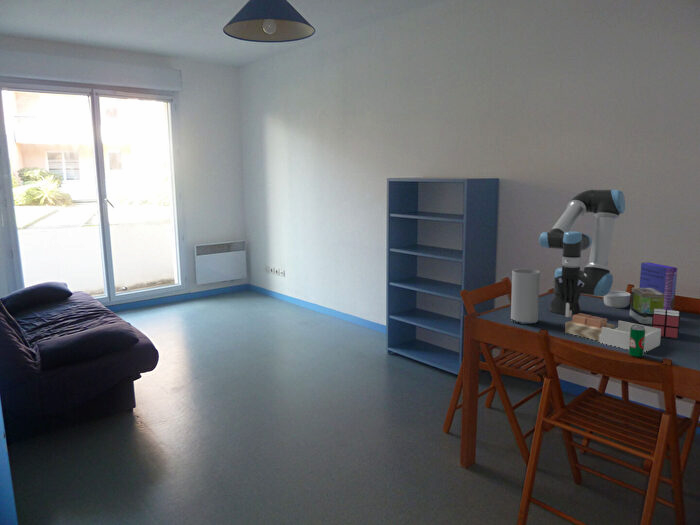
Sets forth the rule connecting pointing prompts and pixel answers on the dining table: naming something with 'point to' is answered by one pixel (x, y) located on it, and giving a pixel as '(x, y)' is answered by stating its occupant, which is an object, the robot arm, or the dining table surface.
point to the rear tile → (580, 318)
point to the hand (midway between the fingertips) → (568, 316)
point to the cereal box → (660, 281)
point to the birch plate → (585, 330)
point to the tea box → (645, 304)
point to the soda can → (637, 340)
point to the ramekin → (617, 299)
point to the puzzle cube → (666, 322)
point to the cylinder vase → (525, 295)
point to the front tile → (596, 321)
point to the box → (622, 336)
